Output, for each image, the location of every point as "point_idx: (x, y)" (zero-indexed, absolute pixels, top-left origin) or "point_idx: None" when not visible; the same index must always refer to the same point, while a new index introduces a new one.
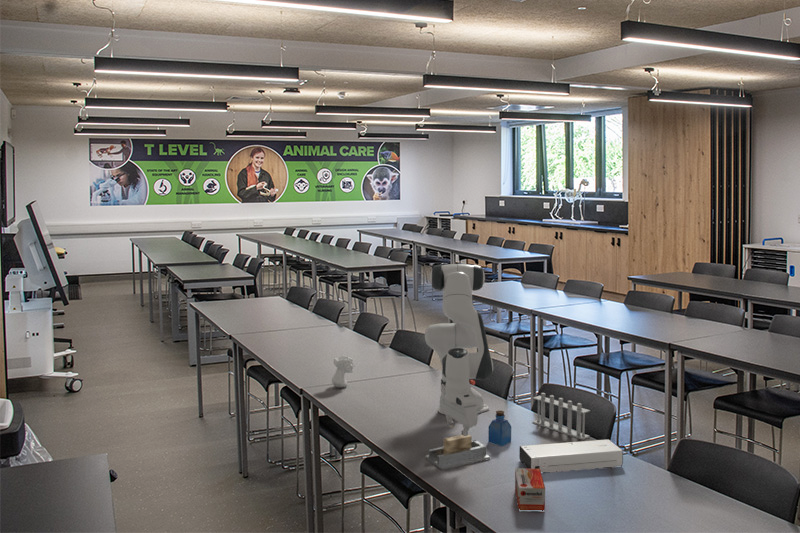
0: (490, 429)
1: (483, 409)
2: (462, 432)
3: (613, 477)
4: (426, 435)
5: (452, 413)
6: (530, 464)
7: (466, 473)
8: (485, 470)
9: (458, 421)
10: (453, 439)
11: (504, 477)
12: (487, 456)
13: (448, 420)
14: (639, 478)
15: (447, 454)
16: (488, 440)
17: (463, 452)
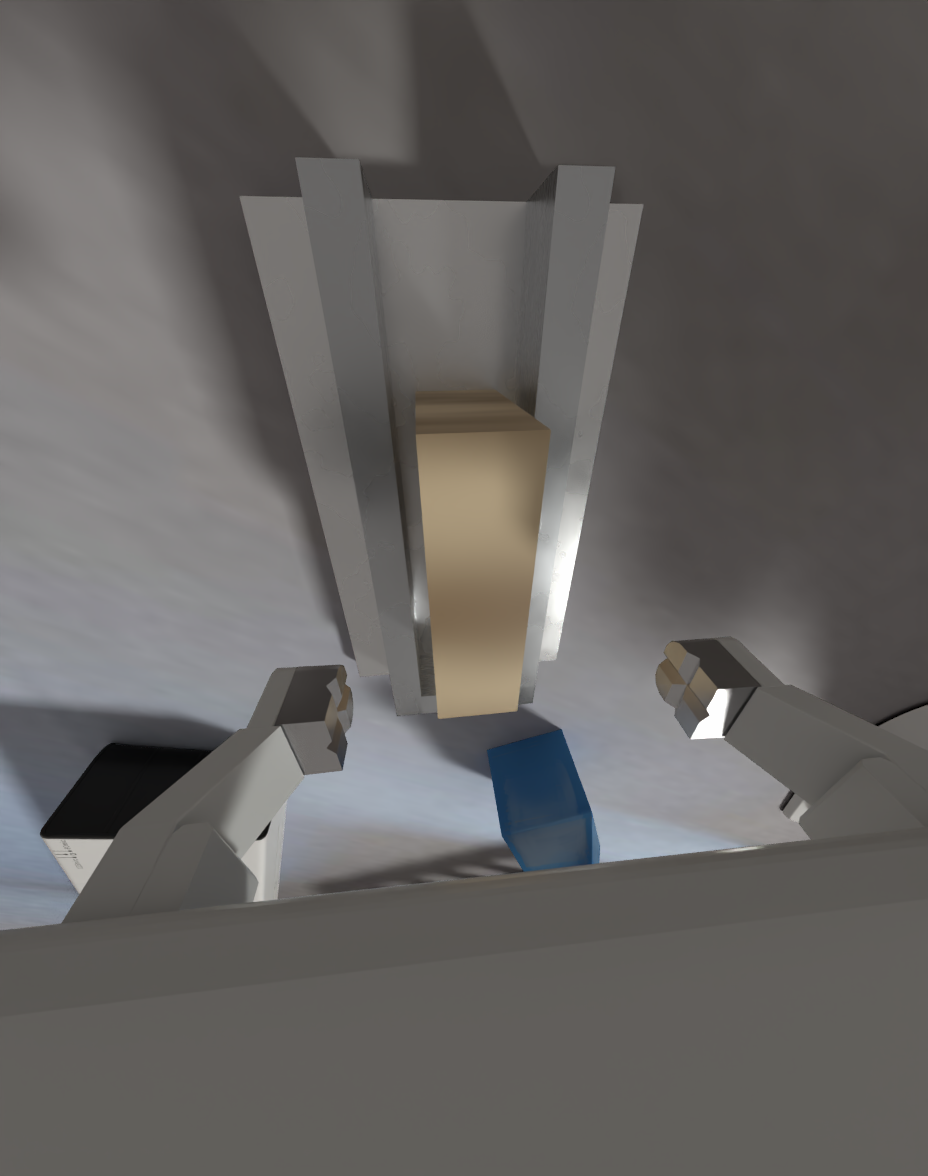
0: (572, 801)
1: (798, 808)
2: (295, 702)
3: (69, 891)
4: (908, 510)
5: (772, 1170)
6: (70, 790)
7: (137, 419)
8: (189, 577)
9: (295, 933)
10: (443, 540)
11: (48, 626)
12: (366, 667)
13: (789, 717)
14: (62, 919)
15: (344, 352)
16: (563, 736)
17: (369, 550)
